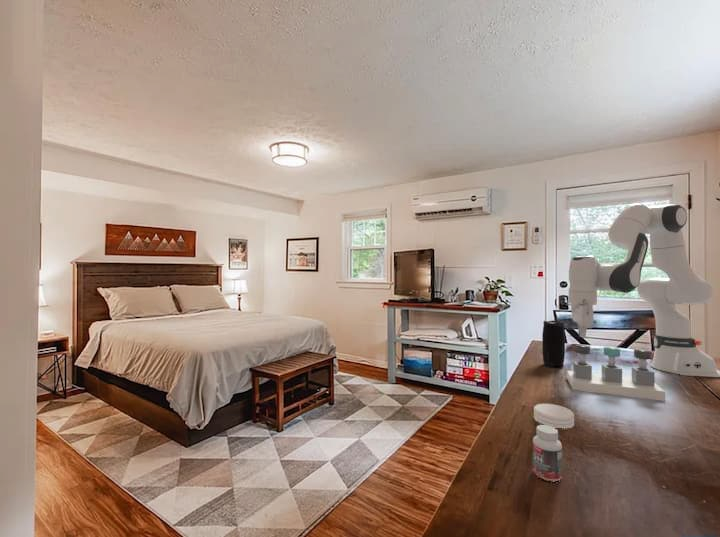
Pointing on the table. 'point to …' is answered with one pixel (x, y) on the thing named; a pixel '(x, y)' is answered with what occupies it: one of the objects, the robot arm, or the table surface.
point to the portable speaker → (553, 343)
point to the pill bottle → (547, 453)
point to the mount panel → (615, 381)
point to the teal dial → (611, 355)
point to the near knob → (642, 357)
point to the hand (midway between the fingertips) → (582, 336)
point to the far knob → (582, 352)
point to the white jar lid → (554, 416)
